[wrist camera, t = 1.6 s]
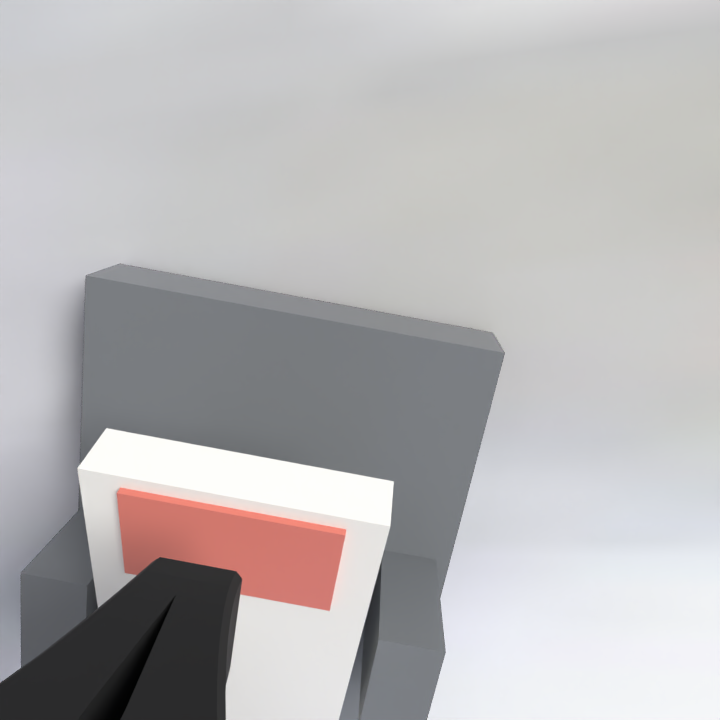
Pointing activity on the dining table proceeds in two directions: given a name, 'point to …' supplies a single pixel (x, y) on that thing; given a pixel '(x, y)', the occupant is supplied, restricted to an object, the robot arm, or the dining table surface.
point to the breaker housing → (290, 439)
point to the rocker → (248, 556)
